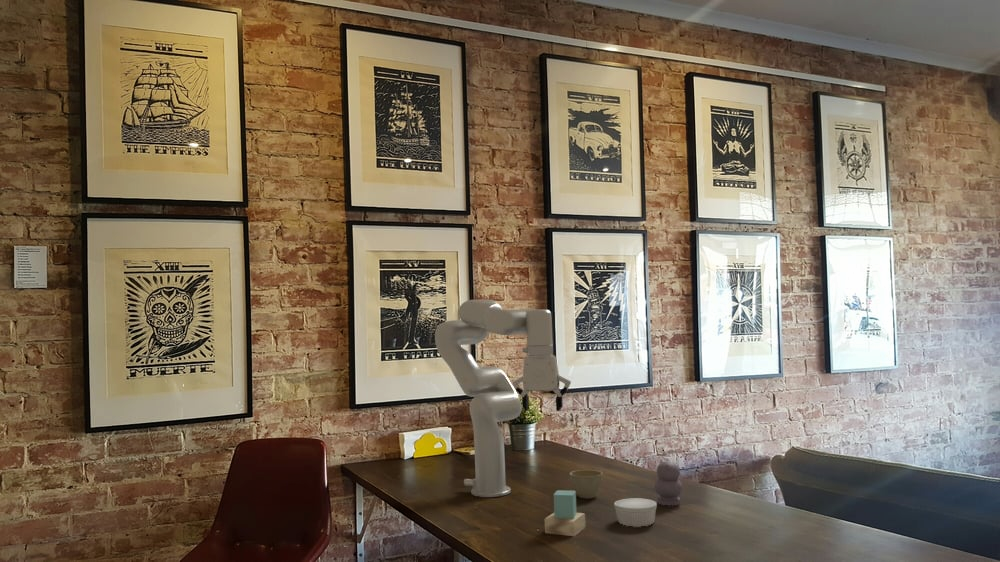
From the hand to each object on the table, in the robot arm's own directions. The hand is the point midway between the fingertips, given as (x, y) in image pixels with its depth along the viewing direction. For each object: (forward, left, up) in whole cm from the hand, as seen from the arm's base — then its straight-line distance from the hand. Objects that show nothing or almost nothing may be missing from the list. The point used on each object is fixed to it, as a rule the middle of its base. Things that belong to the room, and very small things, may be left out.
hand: (542, 410), depth 216 cm
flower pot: (+9, +15, -28) cm, 33 cm away
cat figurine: (+34, +11, -28) cm, 46 cm away
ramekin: (+27, -10, -29) cm, 41 cm away
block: (+10, -20, -25) cm, 33 cm away
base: (+10, -20, -29) cm, 36 cm away
